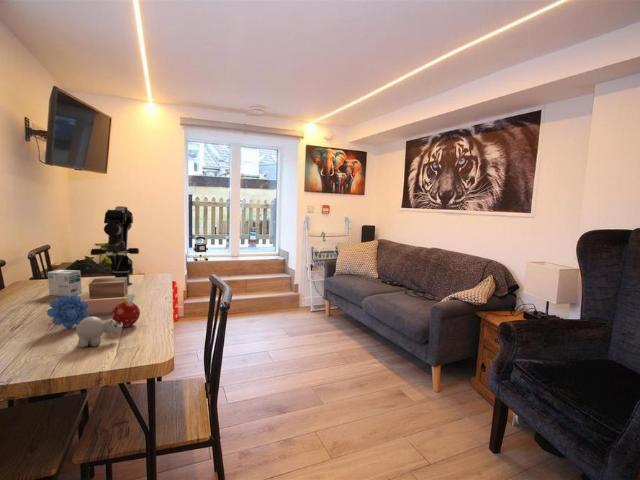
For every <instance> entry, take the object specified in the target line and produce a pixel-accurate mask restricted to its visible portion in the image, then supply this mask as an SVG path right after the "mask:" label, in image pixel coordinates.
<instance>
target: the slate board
mask: <svg viewBox="0 0 640 480" xmlns="http://www.w3.org/2000/svg"><path fill="white" fill-rule="evenodd" d="M134 299H135V294H128V299H127V300H128V302H132V303H133V301H134ZM102 316H103V317H104V316H105V317H106V316H112V312H101V313H90V315H89V317H102Z"/></svg>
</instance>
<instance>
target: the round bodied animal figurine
mask: <svg viewBox="0 0 640 480" xmlns="http://www.w3.org/2000/svg"><path fill="white" fill-rule="evenodd" d="M122 326H123V323H122V322H121V324H120V325H119V324H117V323H116V321H115V320H113V317H112V316H111V317H110V318H109V319H107V320H103V319H102V318H100V317H99V316H94V317H87V318H83V320H82V321H81V322H80V323H79V324H78V325H76V327H75V328H76V330H75V332H76V335H77V336H78V341H77V347H78V348H85V347H88V346H89V344H90V346H92V347H97V346H99V345H101V342H102V341H101V340H102V335H104V334H112V333H113V334H116V335H118V334H119V333H121V332H122V330H123V327H122Z"/></svg>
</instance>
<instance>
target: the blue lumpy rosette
mask: <svg viewBox="0 0 640 480" xmlns="http://www.w3.org/2000/svg"><path fill="white" fill-rule="evenodd" d="M81 300H82V298H81V297H80V296H79V295H78V294H76V295H72V296H68V295H65V294H62V295H61V296H58V299H52V300H51V301H50V302H49V306H50V308H49V309H48V310H47V312H46V314H47V316H48V317H49V318H52V323H53V324H54V325H56V326H62V325H63V327H64V328H66V329H71V328H73V327H74V326H75V325H76V326H77V325H78V324H79V323H80V322H81V321H82V320H83V319H85V318H87V317H89V315H90V313H89V311H88V310H85V309H87V308H88V303H87V302H85V301H81ZM80 301H81V302H80Z"/></svg>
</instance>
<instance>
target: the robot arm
mask: <svg viewBox="0 0 640 480" xmlns="http://www.w3.org/2000/svg"><path fill="white" fill-rule="evenodd" d="M104 213H105V214H104V220H103V223H104V224H105V225H104V227H103V231H104V233H105V234H106V235H108V242H107V243H106V249H104V248H92V249H90V256H99V255H100V256H101V255H103V254H105V257H107V258H109V260H110V262H111V264H110V271H111V275H113V276H114V278H118V277H127V287H128V286H130V285H133V283H132V282H130V275H131V274H133V273H134V269H133V268H134V267H133V264H132V262H131V261H130V258H129V255H127V254H130V255H139V254H140V249H139V248H138V247H129V248H128V236H129V230H130V229H131V228H132V225H133V223H134V216H133V213H132V212H131V211H130V210H129V209H128V207H127V206H118V205H117V206H116V207H115V208H114V209H107V210H106V211H105V212H104Z"/></svg>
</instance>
